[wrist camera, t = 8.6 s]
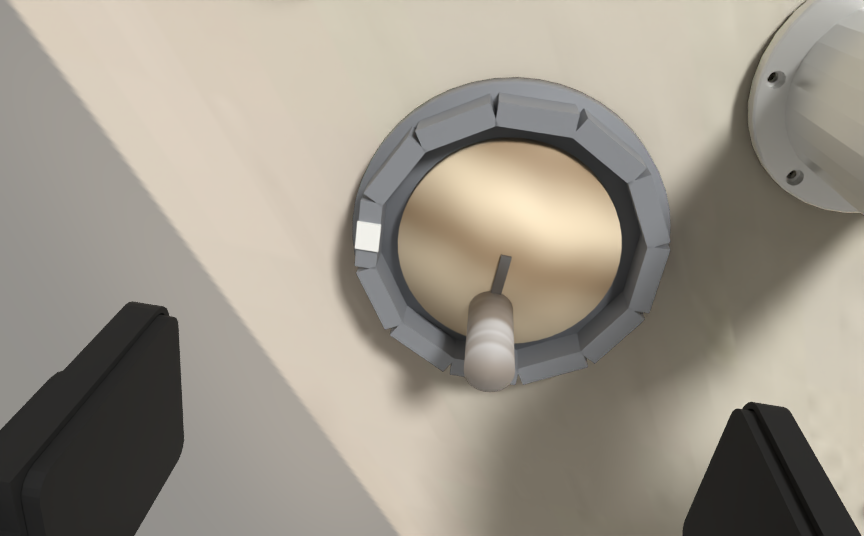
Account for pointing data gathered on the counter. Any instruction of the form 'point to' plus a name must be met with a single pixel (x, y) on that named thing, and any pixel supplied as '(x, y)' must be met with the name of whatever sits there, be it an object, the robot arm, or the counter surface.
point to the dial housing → (531, 119)
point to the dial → (508, 248)
